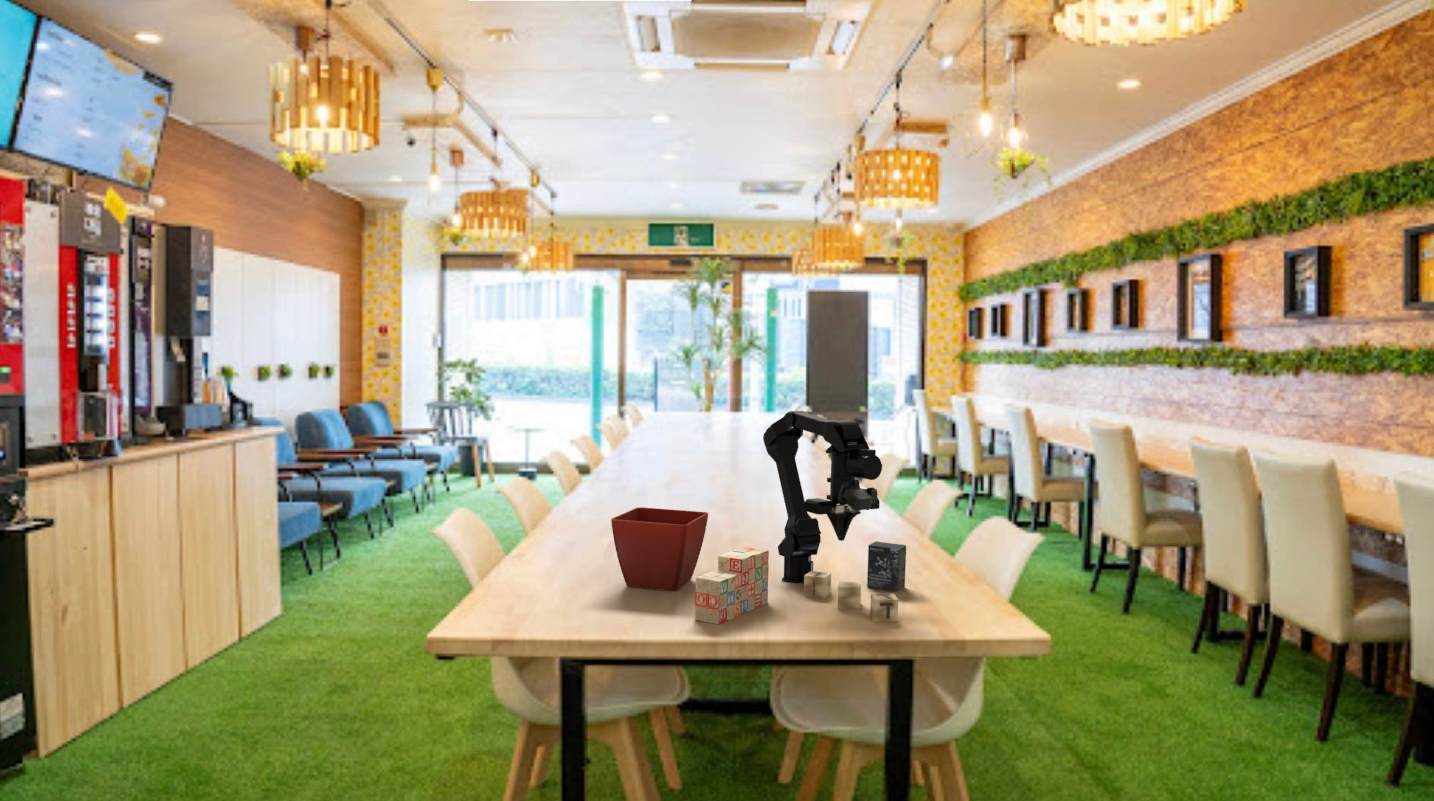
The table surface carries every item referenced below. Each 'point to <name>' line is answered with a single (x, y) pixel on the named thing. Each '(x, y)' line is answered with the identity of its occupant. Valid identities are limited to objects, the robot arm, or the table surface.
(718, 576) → the stack of blocks
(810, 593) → the numeral cube one
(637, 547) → the plant pot
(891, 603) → the letter t cube
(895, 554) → the box
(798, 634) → the table surface
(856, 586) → the plain maple cube
